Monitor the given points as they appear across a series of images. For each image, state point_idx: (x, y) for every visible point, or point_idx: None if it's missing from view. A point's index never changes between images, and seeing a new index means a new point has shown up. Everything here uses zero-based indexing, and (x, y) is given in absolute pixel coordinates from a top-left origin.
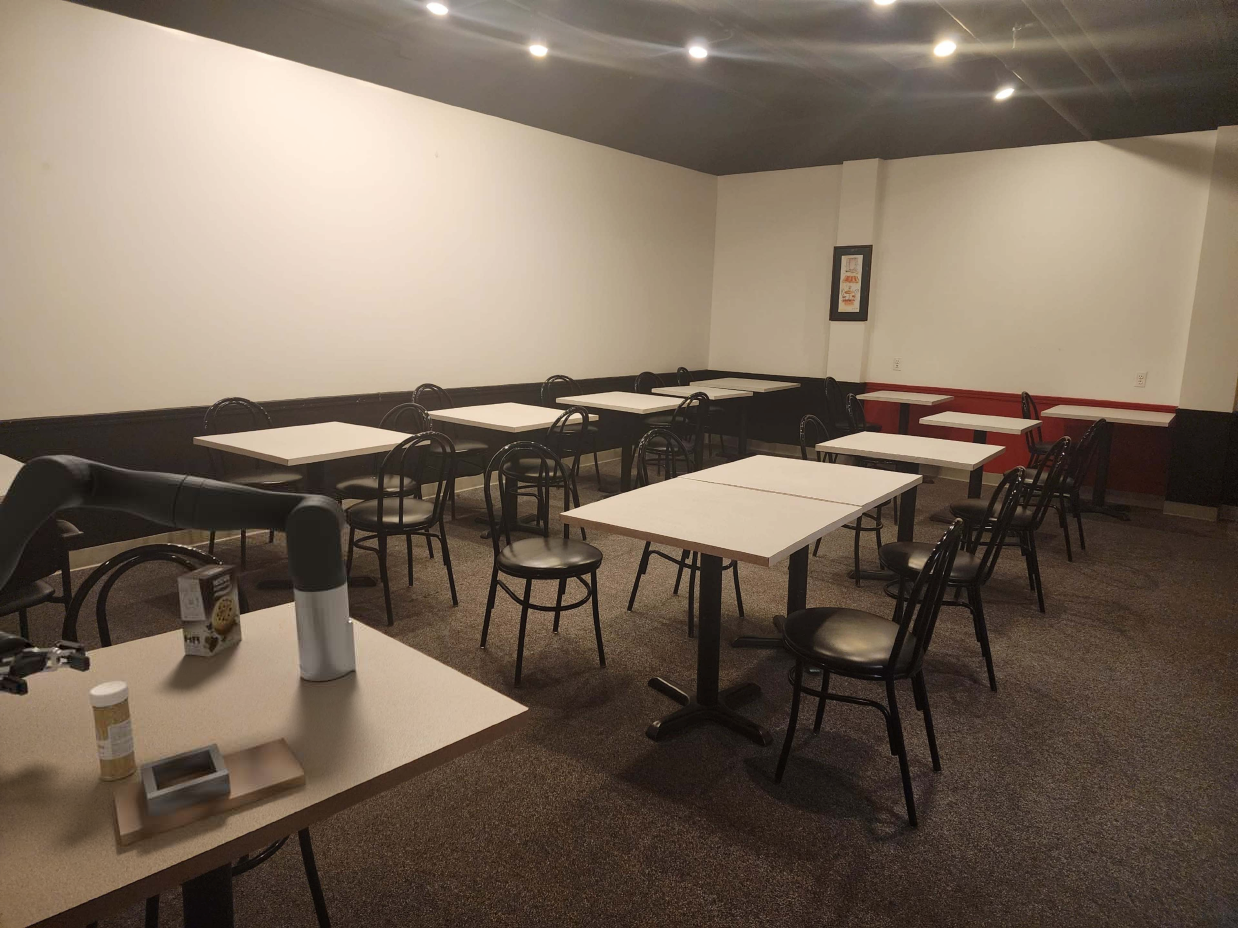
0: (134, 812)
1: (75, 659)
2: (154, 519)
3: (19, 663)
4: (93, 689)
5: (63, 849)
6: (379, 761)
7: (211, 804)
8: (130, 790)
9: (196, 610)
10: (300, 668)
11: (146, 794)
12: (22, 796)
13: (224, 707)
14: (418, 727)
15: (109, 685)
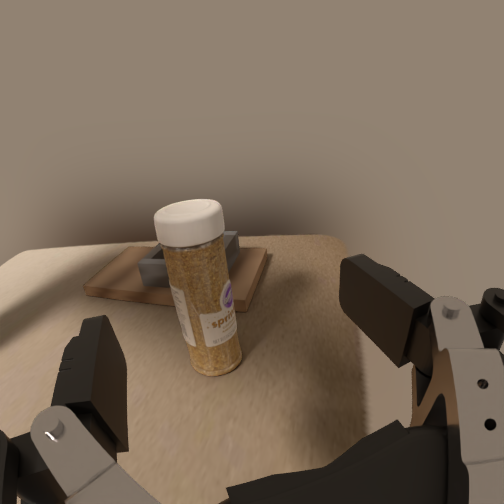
0: (245, 263)
1: (103, 366)
2: None
3: (401, 458)
4: (209, 209)
5: (309, 273)
6: (89, 252)
7: None
8: (232, 289)
9: None
10: None
11: (234, 239)
12: (349, 380)
13: (17, 409)
14: (41, 265)
15: (180, 211)
